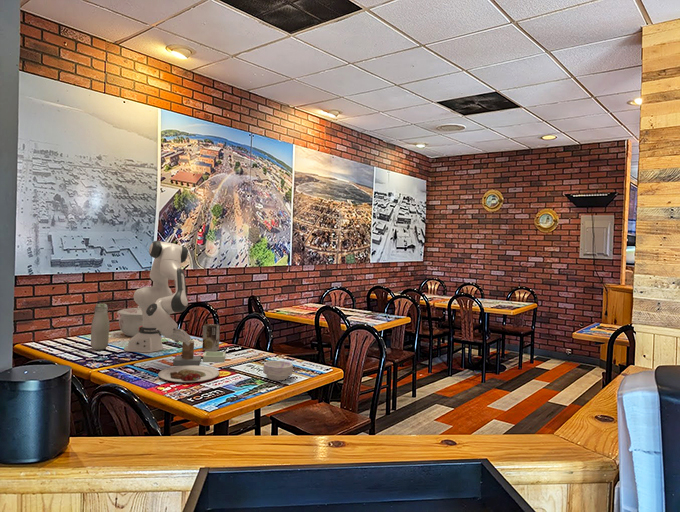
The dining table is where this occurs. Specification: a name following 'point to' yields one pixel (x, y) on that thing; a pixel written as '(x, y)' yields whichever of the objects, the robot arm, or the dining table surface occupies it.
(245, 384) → the dining table surface
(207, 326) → the coffee box
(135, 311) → the chamber pot
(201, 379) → the plated food
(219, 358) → the holder
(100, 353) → the dining table surface
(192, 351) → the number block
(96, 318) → the glass bottle
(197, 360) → the block
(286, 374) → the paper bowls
